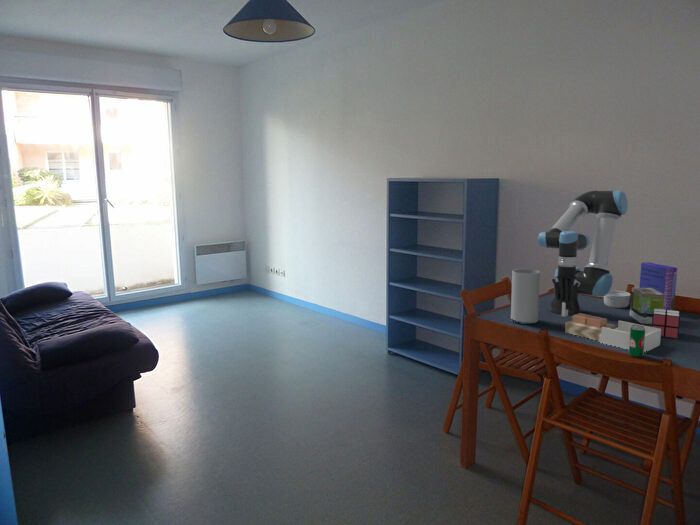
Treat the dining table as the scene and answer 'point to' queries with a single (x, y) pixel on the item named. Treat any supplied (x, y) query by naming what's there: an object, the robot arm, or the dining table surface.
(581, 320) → the rear tile
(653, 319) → the puzzle cube
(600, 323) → the front tile
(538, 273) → the cylinder vase
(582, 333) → the birch plate
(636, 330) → the soda can
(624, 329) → the box
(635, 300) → the tea box
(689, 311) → the dining table surface
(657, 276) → the cereal box
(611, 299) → the ramekin
